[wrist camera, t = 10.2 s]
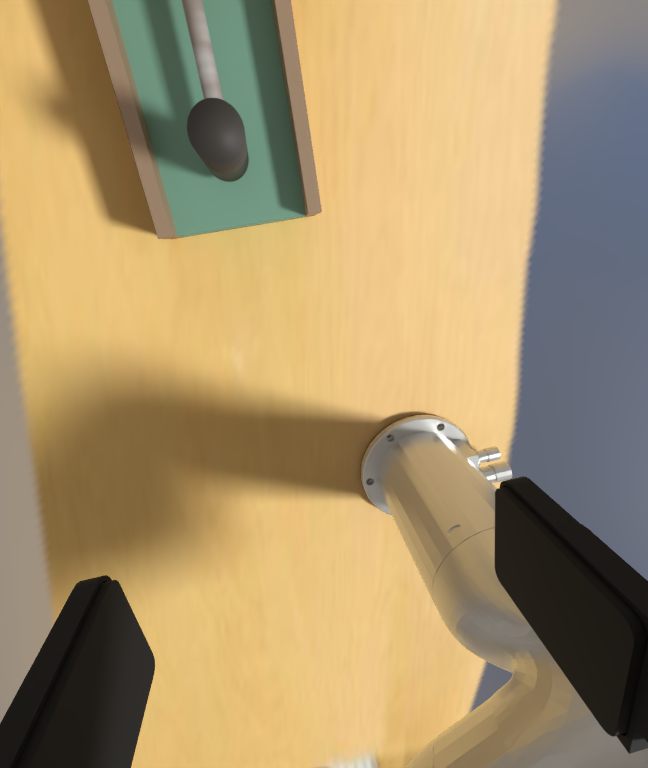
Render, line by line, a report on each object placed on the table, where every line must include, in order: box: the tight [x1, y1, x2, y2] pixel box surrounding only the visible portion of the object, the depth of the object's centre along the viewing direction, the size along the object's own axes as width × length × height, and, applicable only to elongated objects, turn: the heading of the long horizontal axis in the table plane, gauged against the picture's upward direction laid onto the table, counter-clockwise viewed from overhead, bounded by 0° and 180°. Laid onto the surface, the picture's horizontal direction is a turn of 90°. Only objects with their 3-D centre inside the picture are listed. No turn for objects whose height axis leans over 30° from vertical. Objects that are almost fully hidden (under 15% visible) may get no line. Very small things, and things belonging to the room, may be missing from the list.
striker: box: [182, 0, 249, 182], centre depth 22 cm, size 6×15×8 cm, turn 9°
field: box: [88, 0, 322, 239], centre depth 25 cm, size 12×26×5 cm, turn 9°
